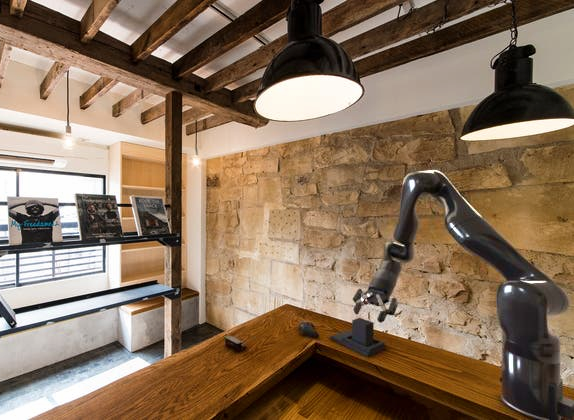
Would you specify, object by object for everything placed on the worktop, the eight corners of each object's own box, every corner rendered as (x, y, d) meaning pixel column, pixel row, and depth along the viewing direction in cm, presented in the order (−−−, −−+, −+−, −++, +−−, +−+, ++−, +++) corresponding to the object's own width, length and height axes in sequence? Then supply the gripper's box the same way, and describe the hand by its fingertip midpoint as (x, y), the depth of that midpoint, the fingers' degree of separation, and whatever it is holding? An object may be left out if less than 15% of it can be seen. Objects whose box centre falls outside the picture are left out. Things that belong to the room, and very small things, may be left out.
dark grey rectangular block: (373, 344, 96) (373, 322, 96) (365, 347, 94) (365, 325, 94) (359, 338, 100) (359, 317, 100) (352, 341, 98) (352, 320, 98)
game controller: (321, 336, 102) (309, 324, 103) (310, 345, 103) (299, 333, 104) (315, 325, 112) (304, 315, 112) (305, 333, 112) (295, 323, 113)
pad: (386, 348, 95) (386, 341, 95) (367, 357, 90) (367, 350, 90) (348, 332, 108) (349, 326, 108) (330, 339, 102) (330, 333, 102)
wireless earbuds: (239, 354, 91) (239, 344, 91) (224, 345, 97) (224, 337, 97) (247, 349, 94) (247, 340, 94) (232, 341, 100) (232, 333, 100)
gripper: (361, 273, 108) (344, 305, 103) (400, 281, 96) (383, 318, 90) (368, 284, 111) (352, 316, 106) (407, 293, 98) (391, 330, 93)
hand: (367, 317), depth 98 cm, fingers open, 8 cm apart
